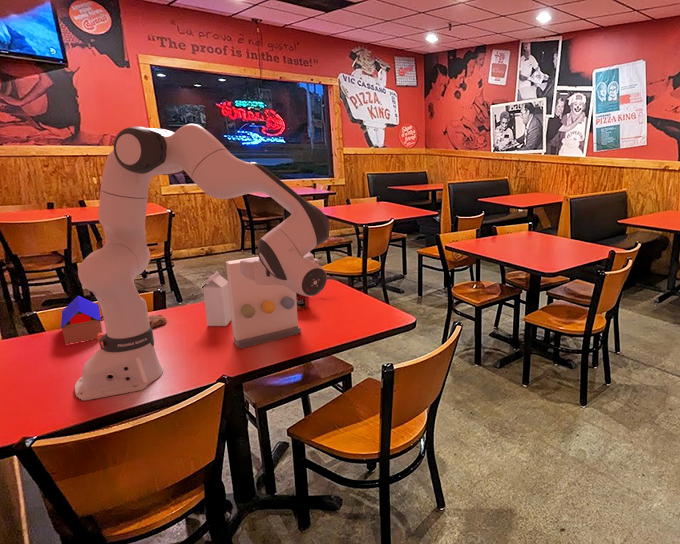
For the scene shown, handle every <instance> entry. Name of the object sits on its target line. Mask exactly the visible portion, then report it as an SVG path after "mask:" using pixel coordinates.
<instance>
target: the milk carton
mask: <svg viewBox="0 0 680 544" xmlns="http://www.w3.org/2000/svg"><path fill="white" fill-rule="evenodd" d="M219 272H220V271H216V272H215V273H214V274H212V275H211V276H209V277H208V278H207V279H206V282H207V283H206V284H205V285H204V286H203V289H202V290H203V298H204V299H203V300H204V307H205V317H206V325H207V327H227V326H228V325H229V324H230V322H232V318H231V308H230V298H229V288H228V279H226V278H225V277H223V276H222V275H220V273H219Z"/></svg>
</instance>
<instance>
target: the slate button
mask: <svg viewBox="0 0 680 544" xmlns="http://www.w3.org/2000/svg"><path fill="white" fill-rule="evenodd" d="M281 305H282V306H283V307H284V308H285V309H291V308H293V306H294V300H293V299H292V298H290V297H288V296H286V297H284V298H283V299H282V301H281Z"/></svg>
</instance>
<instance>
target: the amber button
mask: <svg viewBox="0 0 680 544" xmlns="http://www.w3.org/2000/svg"><path fill="white" fill-rule="evenodd" d="M262 310H263V311H264V312H265V313H267V314H270V313H272V312H273V311H274V310H275V304H274V303H273V302H271V301H269V300H267V301H265V302H263V304H262Z"/></svg>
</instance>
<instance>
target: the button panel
mask: <svg viewBox="0 0 680 544" xmlns="http://www.w3.org/2000/svg"><path fill="white" fill-rule="evenodd" d="M253 258H259V256H256V257H255V256H254V257H248V258H247V257H246V258H241V259H235V260H234V259H233V260H228V261H225V265H226V266H225V267H226V276H227V281H228V288H229V298H230V308H231V318H232V320H231V325H232V337H233V343H234V344H235V346H236V347H237V348H238V349H240V350H241V349H244V348H248V347H253V346H255V345H256V346H257V345H259V344H263V343H264V344H265V343H268V342H272V341H276V340H280V339H284V338H287V337H292V336H295V334H296V335H299V334H298V333H300V334H301V333H302V332H301V331H302V330H301V329H302V328H301V327H300V326H299V321H298V311H297V299H296V293H295V292H294V291H292V290H290V289H289V288H288V287H286V286H284V285H257V284H256V282H255V281H254V280H250V279H248V278H246V277H245V276H243V275H242V274H241V271H240V261H242V260H247V259H253ZM286 296H288V297H290V298H292V299H293V300H294V306H293V308H291V309H285V308H284V307H283V306H282V305H281V301H282V299H283V298H284V297H286ZM267 300H269V301H271V302H273V303H274V304H275V310H274V311H273V312H272V313H270V314H267V313H265V312H264V311H263V310H262V304H263V302H265V301H267ZM244 305H251V306H252V307H253V308H254V309H255V314H254V316H253V317H251V318H246V317H244V316H243V315H242V313H241V309H242V307H243V306H244Z"/></svg>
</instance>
